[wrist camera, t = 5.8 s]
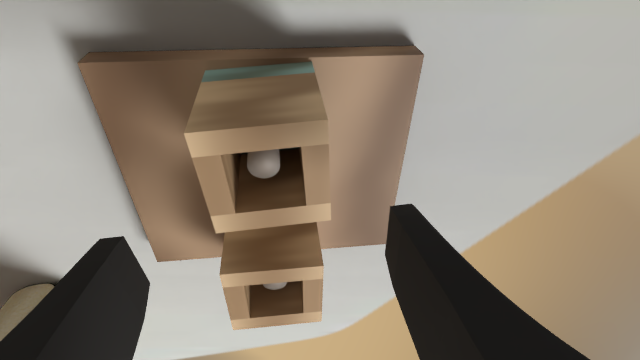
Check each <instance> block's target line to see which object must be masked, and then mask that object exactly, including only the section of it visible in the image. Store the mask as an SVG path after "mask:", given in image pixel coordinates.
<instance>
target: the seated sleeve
mask: <svg viewBox="0 0 640 360" xmlns="http://www.w3.org/2000/svg"><path fill="white" fill-rule="evenodd" d="M220 278H221V282H222V286H223V290H224V295H225V299H226V303H227V307H228V311H229V315H230V319H231V323H232V327H233V330H239V329H249V328H259V327H269V326H279V325H289V324H299V323H309V322H319V321H321V318H322V292H323V260H322V253H321V247H320V240H319V234H318V228H317V222H311V223H303V224H294V225H285V226H277V227H268V228H259V229H250V230H242V231H233V232H225V234H224V242H223V251H222V259H221V267H220ZM281 282H287V284H286V285H285V286H284V287H283V288H280V289H276V290H271V289H267V288H265V287H264V286H263V284H270V283H281Z"/></svg>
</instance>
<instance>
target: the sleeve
mask: <svg viewBox="0 0 640 360" xmlns="http://www.w3.org/2000/svg"><path fill="white" fill-rule="evenodd" d="M184 135H185V139H186V142H187V145H188V148H189V151H190V154H191V157H192V160H193V163H194V167H195V170H196V173H197V176H198V179H199V182H200V185H201V188H202V191H203V195H204V198H205V201H206V204H207V207H208V210H209V213H210V216H211V219H212V223H213V226H214V229H215V232H216V233H224V232H233V231H242V230H250V229H259V228H268V227H277V226H285V225H294V224H303V223H311V222H320V221H329V220H331V200H330V168H329V137H328V118H327V114H326V111H325V107H324V103H323V100H322V96H321V93H320V89H319V85H318V82H317V78H316V75H315V71H314V67H313V64H312V61H310V62H299V63H287V64H275V65H263V66H251V67H239V68H228V69H216V70H205V72H204V75H203V78H202V81H201V84H200V87H199V90H198V93H197V96H196V99H195V102H194V105H193V108H192V111H191V114H190V117H189V120H188V123H187V126H186V128H185V131H184ZM274 149H279V153H280V169H279V171H278V172H277V173H276V174H275V175H274V176H272V177H270V178H258V177H255V176H253V175H252V174H251V173H250V172H249V170H248V168H247V157H248V152H254V151H264V150H274Z"/></svg>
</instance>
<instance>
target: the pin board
mask: <svg viewBox="0 0 640 360" xmlns="http://www.w3.org/2000/svg"><path fill="white" fill-rule="evenodd" d="M423 57H424V54H423V53H422V52H421V51H420V50H419V49H418V48H417V47H416V46H376V47H327V48H278V49H229V50H180V51H131V52H89V53H88V54H87V55H86V56H85V57H83V58H82V59H81V60H80V61H79V62H78V66H79V68H80V71H81V73H82V76H83V78H84V81H85V83H86V86H87V88H88V90H89V93H90V95H91V98H92V100H93V103H94V105H95V108H96V110H97V113H98V115H99V118H100V120H101V123H102V125H103V128H104V130H105V133H106V135H107V138H108V140H109V143H110V145H111V148H112V150H113V153H114V155H115V158H116V160H117V163H118V165H119V168H120V170H121V173H122V175H123V177H124V180H125V182H126V185H127V187H128V190H129V192H130V195H131V197H132V200H133V202H134V205H135V207H136V210H137V212H138V215H139V217H140V220H141V222H142V225H143V227H144V230H145V232H146V235H147V237H148V240H149V242H150V245H151V247H152V250H153V252H154V255H155V257H156V260H157V262H163V261H175V260H188V259H201V258H213V257H222V251H223V242H224V234H225V232H224V233H216V232H215V229H214V226H213V223H212V219H211V216H210V213H209V210H208V207H207V204H206V201H205V198H204V195H203V191H202V188H201V185H200V182H199V179H198V176H197V173H196V170H195V167H194V163H193V160H192V157H191V154H190V151H189V148H188V145H187V142H186V139H185V135H184V131H185V128H186V126H187V123H188V120H189V117H190V114H191V111H192V108H193V105H194V102H195V99H196V96H197V93H198V90H199V87H200V84H201V81H202V78H203V75H204V72H205V70H216V69H228V68H239V67H251V66H263V65H275V64H287V63H299V62H310V61H312V64H313V67H314V71H315V75H316V78H317V82H318V85H319V89H320V93H321V96H322V100H323V103H324V107H325V111H326V114H327V118H328V137H329V168H330V200H331V220H329V221H320V222H317V228H318V234H319V240H320V247H321V249H327V248H340V247H353V246H365V245H378V244H386V240H387V231H388V221H389V212H390V206H394V205H395V200H396V195H397V190H398V184H399V179H400V174H401V169H402V164H403V159H404V154H405V149H406V144H407V139H408V134H409V129H410V123H411V118H412V113H413V108H414V103H415V98H416V93H417V88H418V83H419V78H420V73H421V68H422V63H423ZM247 168H248V170H249V172H250V173H251V174H252V175H253V176H255V177H258V178H270V177H272V176H274V175H275V174H276V173H277V172H278V171H279V169H280V153H279V149H274V150H264V151H254V152H248V157H247ZM286 284H287V282H281V283H270V284H263V286H264V287H265V288H267V289H271V290H276V289H280V288H283V287H284V286H285V285H286Z"/></svg>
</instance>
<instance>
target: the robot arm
mask: <svg viewBox="0 0 640 360" xmlns="http://www.w3.org/2000/svg"><path fill="white" fill-rule="evenodd" d="M385 256H386V261H387V265H388V269H389V273H390V277H391V281H392V285H393V288H394V291H395V294H396V297H397V300H398V302H399V305H400V308H401V310H402V313H403V316H404V318H405V321H406V324H407V326H408V329H409V332H410V334H411V337H412V340H413V342H414V345H415V348H416V350H417V353H418V356H419V358H420V360H590V359H588V358H587V357H586V356H584V355H583V354H581V353H580V352H578V351H577V350H575V349H574V348H572V347H571V346H569V345H568V344H566V343H565V342H564V341H562V340H561V339H559V338H558V337H557V336H555V335H554V334H553V333H551V332H550V331H549V330H547V329H546V328H545V327H543V326H542V325H541V324H539V323H538V322H537V321H535V320H534V319H533V318H532V317H531V316H529V315H528V314H527V313H525V312H524V311H523V310H521V309H520V308H519V307H518V306H517V305H515V304H514V303H513V302H512V301H511V300H509V299H508V298H507V297H506V296H505V295H504V294H502V293H501V292H500V291H499V290H498V289H497V288H496V287H494V286H493V285H492V284H491V283H490V282H489V281H488V280H487V279H486V278H484V277H483V276H482V275H481V274H480V273H479V272H478V271H477V270H476V269H474V267H472V265H471V264H469V263H468V262H467V261H466V260H465V259H464V258H463V257H462V256H461V255H460V254H459V253H458V252H457V251H456V250H455V249H454V248H453V247H452V246H451V245H450V244H449V243H448V242H447V241H446V240H445V239H444V238H443V236H442V235H441V234H440V233H439V232H438V231H437V230H436V229H435V228H434V227H433V226H432V225H431V224H430V223H429V222H428V220H427V219H426V218H425V217H424V216H423V215H422V214H421V213H420V212H419V211H418V209H417V208H416V207H415V206H414V205H412V204H406V205H397V206H390V212H389V221H388V231H387V240H386V250H385ZM149 286H150V282H149V280H148V279H147V277H146V275H145V273H144V271H143V270H142V268H141V266H140V264H139V263H138V261H137V259H136V257H135V256H134V254H133V252H132V250H131V248H130V247H129V245H128V243H127V241H126V240H125V238H124V236H122V237H113V238H104V239H100V240H99V241H98V242H97V243H95V244H94V245H93V246H92V248H91V249H90V250H89V251H88V252H87V253H86V254H85V255H84V256H83V257H82V258H81V259H80V260H79V261H78V262H77V263H76V264H75V265H74V267H73V268H72V269H71V270H70V271H69V272H68V273H67V274H66V275H65V276H64V277H63V278H62V279H61V280H60V282H59V283H58V284H57V285H56V286H55V287H54V288H53V289H52V290H51V291H50V292H49V293H48V294H47V295H46V296H45V297H44V298H43V299H42V300H41V301H40V302H39V303H38V305H37V306H36V307H35V308H34V309H33V310H32V311H31V312H30V313H29V314H28V315H27V316H26V317H25V318H24V319H23V320H22V321H21V322H20V323H19V324H18V325H17V326H16V327H15V328H14V329H12V330H11V331H10V332H9V333H8V334H7V335H6V336H5V337H4V338H3V339H2V340H1V341H0V360H132V359H133V356H134V353H135V349H136V346H137V342H138V339H139V336H140V332H141V329H142V325H143V322H144V317H145V312H146V306H147V300H148V293H149Z"/></svg>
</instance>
